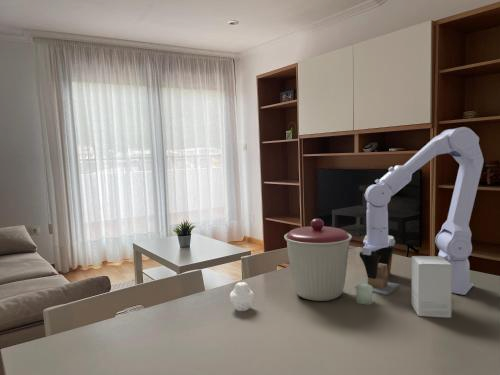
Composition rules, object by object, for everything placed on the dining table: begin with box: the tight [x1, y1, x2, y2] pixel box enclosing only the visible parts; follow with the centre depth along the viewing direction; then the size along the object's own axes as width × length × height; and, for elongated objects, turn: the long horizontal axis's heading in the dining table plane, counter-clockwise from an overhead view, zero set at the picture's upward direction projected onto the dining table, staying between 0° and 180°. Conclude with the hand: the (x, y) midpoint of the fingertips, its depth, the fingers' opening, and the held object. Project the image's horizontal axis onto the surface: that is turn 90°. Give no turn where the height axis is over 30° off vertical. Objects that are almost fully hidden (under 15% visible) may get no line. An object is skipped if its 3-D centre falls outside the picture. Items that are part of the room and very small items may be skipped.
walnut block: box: [367, 263, 388, 289], centre depth 107 cm, size 4×4×6 cm
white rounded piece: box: [229, 281, 255, 312], centre depth 95 cm, size 6×6×7 cm
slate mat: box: [360, 278, 401, 297], centre depth 107 cm, size 9×9×1 cm
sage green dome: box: [355, 283, 373, 305], centre depth 98 cm, size 4×4×4 cm
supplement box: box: [410, 255, 452, 319], centre depth 90 cm, size 7×7×13 cm
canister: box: [283, 218, 353, 302], centre depth 103 cm, size 18×18×21 cm
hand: (377, 274), depth 107 cm, fingers open, 7 cm apart
